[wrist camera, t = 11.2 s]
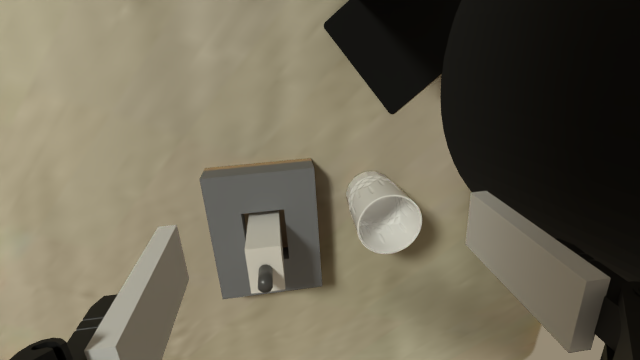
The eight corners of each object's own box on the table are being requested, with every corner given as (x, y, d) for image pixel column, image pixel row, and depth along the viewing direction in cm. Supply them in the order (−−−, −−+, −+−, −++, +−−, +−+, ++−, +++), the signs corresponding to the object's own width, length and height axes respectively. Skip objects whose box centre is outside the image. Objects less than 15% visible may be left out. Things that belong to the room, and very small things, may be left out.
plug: (249, 210, 50) (242, 265, 38) (278, 207, 50) (281, 260, 38) (254, 248, 52) (250, 311, 40) (282, 245, 52) (286, 306, 40)
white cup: (383, 156, 51) (408, 183, 41) (403, 201, 54) (431, 235, 44) (332, 183, 51) (346, 214, 42) (355, 226, 54) (373, 264, 45)
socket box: (205, 168, 48) (199, 179, 44) (310, 158, 49) (314, 167, 46) (226, 281, 55) (222, 299, 51) (318, 269, 56) (322, 286, 52)
